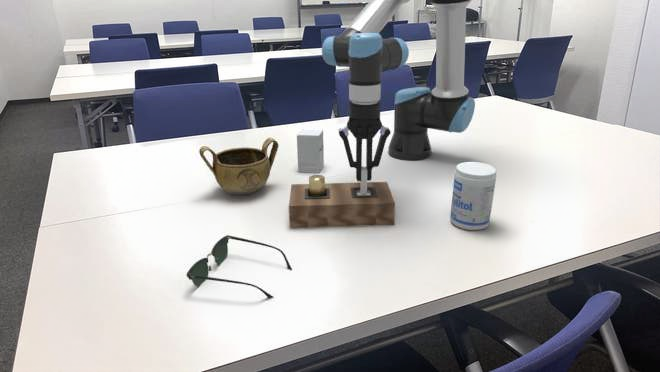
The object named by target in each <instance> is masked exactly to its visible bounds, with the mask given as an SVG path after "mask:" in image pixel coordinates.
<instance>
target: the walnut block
mask: <svg viewBox="0 0 660 372" xmlns="http://www.w3.org/2000/svg"><path fill="white" fill-rule="evenodd" d="M358 190H360V182H334V183H333V182H332V183H330V182H329V183H326V182H325V196H320V197H310V192H309V183H299V184H298V183H295V184H292V183H291V185H290V192H289V193H290V194H289V200H288V215H289V216H288V218H289V228H290V229H299V228H301V229H302V228H303V229H305V228H331V227H332V228H334V227H337V228H338V227H366V226H367V227H368V226H371V227H372V226H373V227H374V226H394V225H395V213H396V212H395V211H396V202H395V200H394V196H393V195H392V194H393V193H392V191H391V189H390V186H389V183H388V181H367V190H369V191H371V192H372V195H357V196H356V192H357V191H358Z"/></svg>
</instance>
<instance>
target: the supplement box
mask: <svg viewBox="0 0 660 372" xmlns="http://www.w3.org/2000/svg"><path fill="white" fill-rule="evenodd" d="M296 148H297V152H296V153H297V172H299V173H314V174H319V173H321V171H322V169H323V168H324V165H325V164H324V163H325V159H324V158H325V157H324V156H325V155H324V149H325V148H324V129H315V128H314V129H313V128H311V129H310V128H309V129H307V128H306V129H301V130H300V131H299V132H298V133H297V134H296Z"/></svg>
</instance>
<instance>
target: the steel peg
mask: <svg viewBox="0 0 660 372" xmlns="http://www.w3.org/2000/svg"><path fill="white" fill-rule="evenodd" d="M357 195H372V192H371V191H369V190H367V194H361V191H360V190H358V191H357V192H356V196H357Z"/></svg>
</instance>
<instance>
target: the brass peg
mask: <svg viewBox="0 0 660 372" xmlns="http://www.w3.org/2000/svg"><path fill="white" fill-rule="evenodd" d="M325 179H326V178H325V176H324V175H322V174H313V175H310V176H309V177H308V184H309V192H310V197H320V196H325V183H326V181H325Z"/></svg>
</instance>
